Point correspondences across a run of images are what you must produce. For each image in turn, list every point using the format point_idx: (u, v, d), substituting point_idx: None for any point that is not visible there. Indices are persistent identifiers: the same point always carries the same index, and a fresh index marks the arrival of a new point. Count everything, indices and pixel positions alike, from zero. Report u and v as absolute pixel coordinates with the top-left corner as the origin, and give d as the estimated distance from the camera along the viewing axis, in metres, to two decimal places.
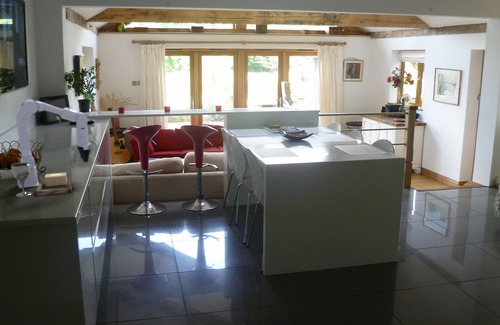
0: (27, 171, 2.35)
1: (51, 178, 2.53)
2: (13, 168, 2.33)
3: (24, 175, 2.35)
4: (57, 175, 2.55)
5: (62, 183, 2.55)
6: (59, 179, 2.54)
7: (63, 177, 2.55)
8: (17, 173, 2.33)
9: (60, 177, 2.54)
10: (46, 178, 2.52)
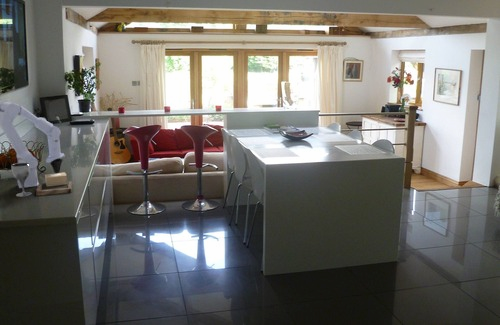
0: (27, 171, 2.35)
1: (52, 178, 2.53)
2: (13, 168, 2.33)
3: (24, 175, 2.35)
4: (57, 175, 2.56)
5: (63, 183, 2.56)
6: (60, 179, 2.55)
7: (64, 177, 2.55)
8: (17, 173, 2.33)
9: (61, 177, 2.55)
10: (47, 178, 2.52)
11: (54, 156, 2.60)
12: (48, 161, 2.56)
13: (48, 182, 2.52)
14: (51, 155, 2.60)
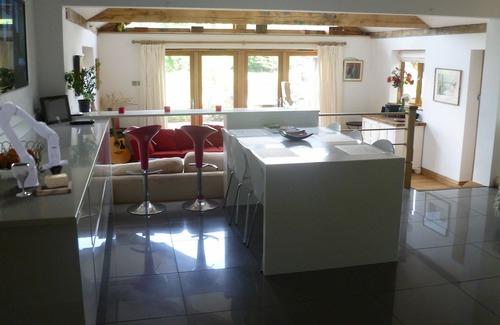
0: (27, 171, 2.35)
1: (53, 179, 2.51)
2: (13, 168, 2.33)
3: (24, 175, 2.35)
4: (58, 176, 2.54)
5: (64, 184, 2.54)
6: (61, 180, 2.53)
7: (65, 178, 2.54)
8: (17, 173, 2.33)
9: (62, 178, 2.53)
10: (48, 179, 2.50)
11: (52, 163, 2.56)
12: (43, 167, 2.53)
13: (49, 183, 2.50)
14: (49, 161, 2.56)
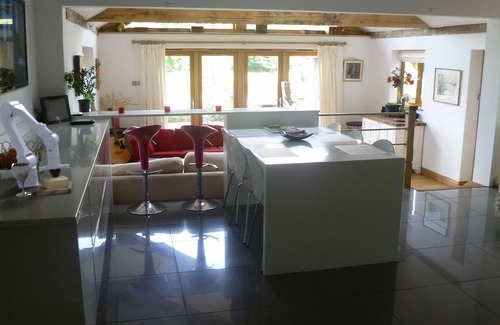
0: (27, 171, 2.35)
1: (53, 182, 2.45)
2: (13, 168, 2.33)
3: (24, 175, 2.35)
4: (58, 179, 2.47)
5: (64, 187, 2.48)
6: (61, 183, 2.47)
7: (66, 180, 2.48)
8: (17, 173, 2.33)
9: (62, 180, 2.47)
10: (48, 183, 2.43)
11: (48, 166, 2.50)
12: (39, 169, 2.49)
13: (49, 186, 2.44)
14: (48, 164, 2.51)
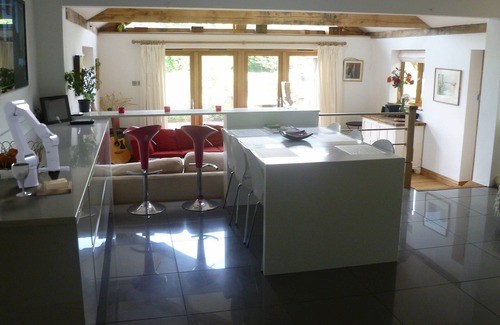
0: (27, 171, 2.35)
1: (53, 185, 2.41)
2: (13, 168, 2.33)
3: (24, 175, 2.35)
4: (58, 181, 2.44)
5: None
6: (61, 185, 2.43)
7: (65, 183, 2.44)
8: (17, 173, 2.33)
9: (62, 183, 2.43)
10: (48, 185, 2.39)
11: (47, 167, 2.46)
12: None
13: (48, 189, 2.40)
14: None
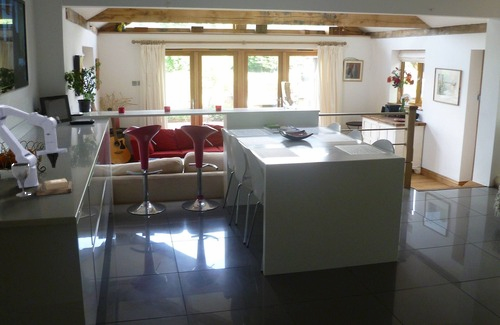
0: (27, 171, 2.35)
1: (53, 185, 2.41)
2: (13, 168, 2.33)
3: (24, 175, 2.35)
4: (58, 181, 2.43)
5: None
6: (61, 185, 2.43)
7: (65, 183, 2.44)
8: (17, 173, 2.33)
9: (62, 183, 2.43)
10: (47, 185, 2.39)
11: (46, 150, 2.48)
12: (37, 154, 2.47)
13: (48, 189, 2.40)
14: None
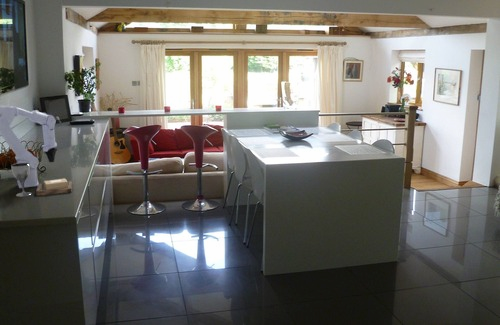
0: (27, 171, 2.35)
1: (53, 185, 2.41)
2: (13, 168, 2.33)
3: (24, 175, 2.35)
4: (58, 181, 2.43)
5: None
6: (61, 185, 2.43)
7: (65, 183, 2.44)
8: (17, 173, 2.33)
9: (62, 183, 2.43)
10: (47, 185, 2.39)
11: (50, 145, 2.60)
12: (45, 150, 2.56)
13: (48, 189, 2.40)
14: (46, 144, 2.60)
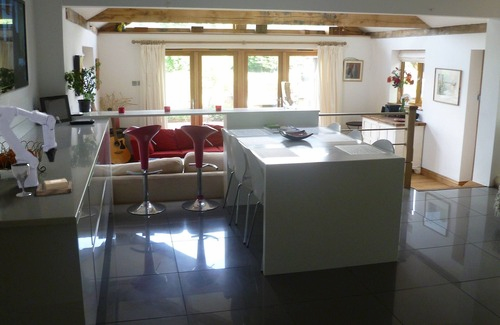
0: (27, 171, 2.35)
1: (53, 185, 2.41)
2: (13, 168, 2.33)
3: (24, 175, 2.35)
4: (58, 181, 2.43)
5: None
6: (61, 185, 2.43)
7: (65, 183, 2.44)
8: (17, 173, 2.33)
9: (62, 183, 2.43)
10: (47, 185, 2.39)
11: (50, 145, 2.60)
12: (45, 150, 2.56)
13: (48, 189, 2.40)
14: (46, 144, 2.60)
